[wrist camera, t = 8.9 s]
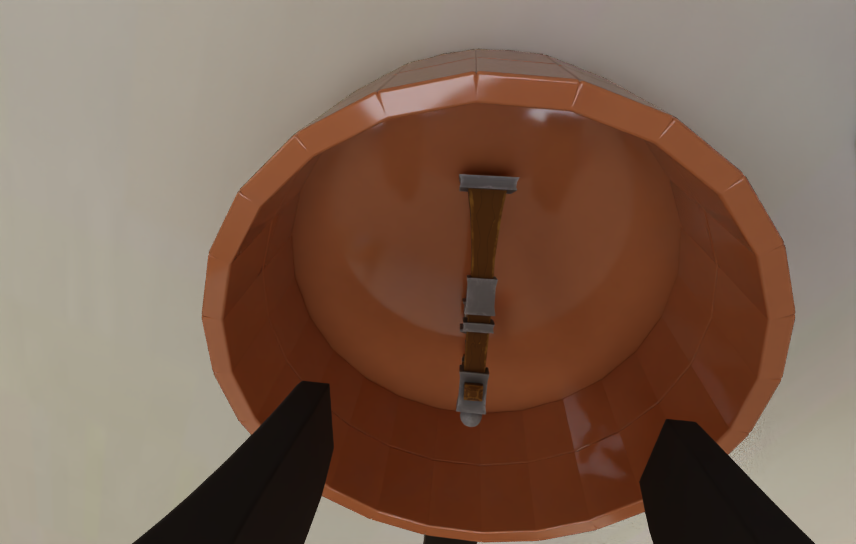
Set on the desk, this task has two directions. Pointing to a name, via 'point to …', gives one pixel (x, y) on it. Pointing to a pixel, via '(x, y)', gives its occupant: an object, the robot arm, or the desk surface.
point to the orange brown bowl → (499, 294)
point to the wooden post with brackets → (480, 289)
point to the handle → (444, 540)
